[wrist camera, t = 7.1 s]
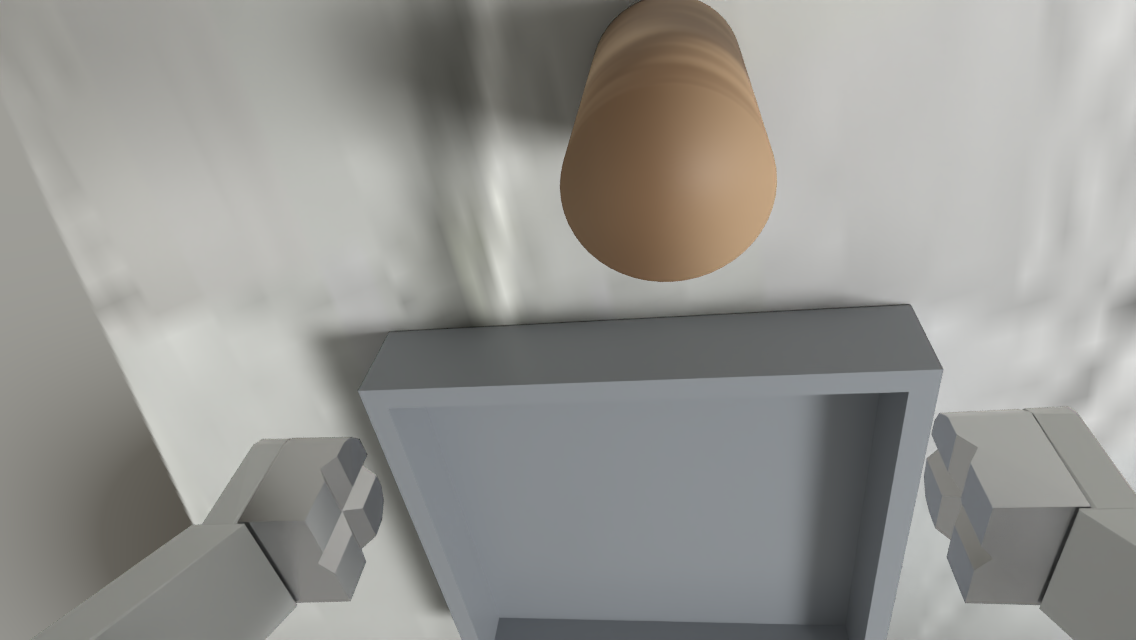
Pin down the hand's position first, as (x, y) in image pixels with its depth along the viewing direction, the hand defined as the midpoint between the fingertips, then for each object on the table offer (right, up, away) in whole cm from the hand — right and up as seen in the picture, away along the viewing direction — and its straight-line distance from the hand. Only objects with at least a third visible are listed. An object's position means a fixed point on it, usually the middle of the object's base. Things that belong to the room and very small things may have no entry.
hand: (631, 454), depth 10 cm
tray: (+3, -7, +26) cm, 27 cm away
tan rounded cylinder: (+2, +10, +13) cm, 17 cm away
